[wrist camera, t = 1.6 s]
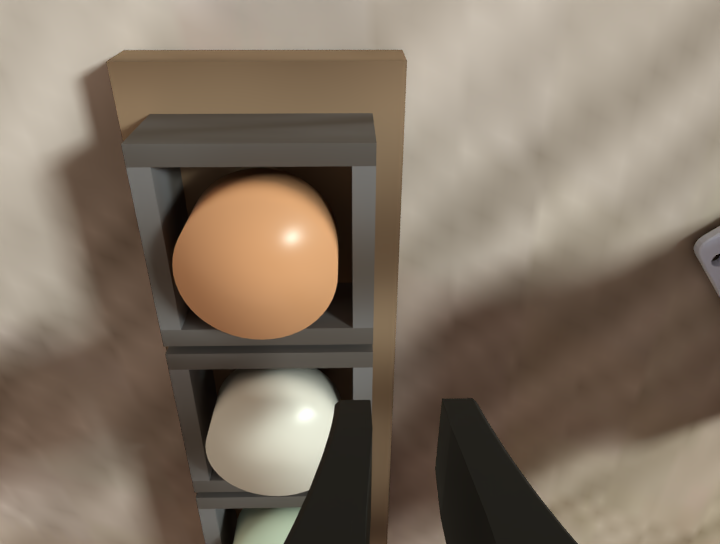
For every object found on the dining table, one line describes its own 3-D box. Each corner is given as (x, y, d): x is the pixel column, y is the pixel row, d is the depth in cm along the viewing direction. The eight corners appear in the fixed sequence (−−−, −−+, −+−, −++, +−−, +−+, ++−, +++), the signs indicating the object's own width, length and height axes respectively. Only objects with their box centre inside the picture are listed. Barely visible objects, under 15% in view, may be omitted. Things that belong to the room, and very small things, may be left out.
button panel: (124, 50, 17) (69, 85, 14) (402, 49, 17) (416, 84, 14) (217, 533, 29) (199, 617, 25) (384, 530, 29) (389, 614, 25)
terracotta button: (367, 248, 17) (370, 285, 16) (260, 321, 19) (251, 363, 17) (269, 137, 16) (260, 165, 14) (158, 227, 17) (137, 262, 15)
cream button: (366, 412, 21) (368, 457, 19) (275, 465, 22) (269, 512, 20) (284, 336, 19) (278, 379, 17) (191, 399, 20) (176, 444, 18)
